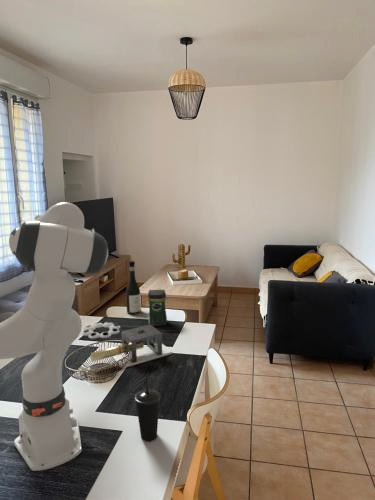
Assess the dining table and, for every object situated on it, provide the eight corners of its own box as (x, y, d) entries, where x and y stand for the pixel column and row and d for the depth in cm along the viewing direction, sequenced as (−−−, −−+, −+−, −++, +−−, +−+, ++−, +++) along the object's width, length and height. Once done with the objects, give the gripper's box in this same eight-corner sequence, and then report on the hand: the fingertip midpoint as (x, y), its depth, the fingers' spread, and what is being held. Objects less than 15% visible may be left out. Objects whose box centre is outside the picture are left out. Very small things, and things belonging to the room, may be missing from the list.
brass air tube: (140, 346, 166) (139, 338, 165) (143, 349, 163) (143, 341, 162) (91, 359, 155) (90, 351, 154) (93, 363, 152) (93, 354, 151)
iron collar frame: (151, 344, 173) (150, 324, 171) (162, 354, 164) (161, 333, 162) (122, 352, 166) (121, 331, 164) (132, 363, 157) (131, 340, 155)
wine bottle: (143, 312, 215) (141, 261, 209) (130, 316, 211) (128, 263, 205) (137, 308, 222) (135, 259, 216) (124, 311, 217) (122, 261, 211)
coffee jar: (167, 320, 204) (166, 287, 200) (166, 326, 196) (165, 292, 192) (149, 320, 204) (148, 287, 200) (147, 326, 196) (146, 292, 192)
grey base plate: (160, 344, 176) (160, 342, 176) (172, 353, 167) (172, 351, 167) (111, 357, 164) (111, 355, 164) (121, 368, 155) (121, 366, 154)
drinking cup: (140, 448, 110) (137, 386, 106) (133, 432, 117) (130, 373, 113) (165, 440, 113) (163, 380, 109) (156, 425, 120) (155, 367, 116)
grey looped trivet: (95, 321, 205) (94, 318, 204) (127, 325, 199) (127, 322, 198) (73, 336, 186) (73, 332, 186) (108, 341, 180) (108, 337, 180)
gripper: (43, 265, 127) (47, 304, 130) (69, 252, 147) (72, 286, 150) (26, 264, 128) (30, 303, 131) (54, 251, 148) (57, 285, 151)
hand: (52, 294), depth 141 cm, fingers open, 8 cm apart
